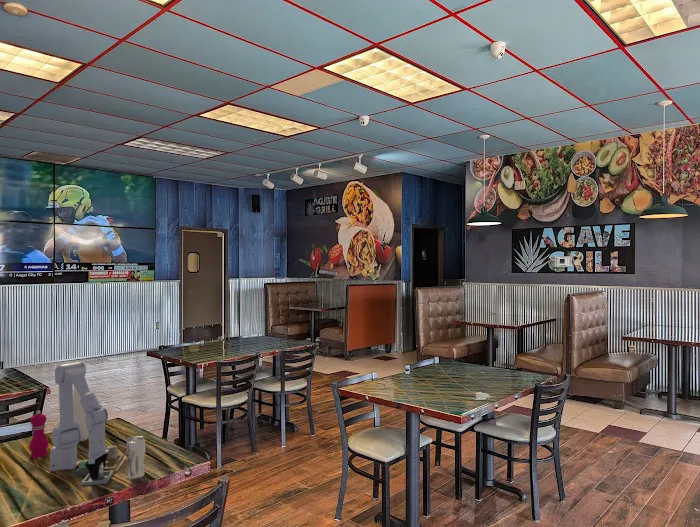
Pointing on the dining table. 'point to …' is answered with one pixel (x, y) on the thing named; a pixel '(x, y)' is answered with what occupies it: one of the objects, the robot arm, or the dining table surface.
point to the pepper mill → (38, 436)
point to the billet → (100, 473)
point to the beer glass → (135, 456)
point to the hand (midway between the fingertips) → (97, 475)
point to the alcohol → (80, 415)
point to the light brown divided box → (113, 459)
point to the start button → (83, 464)
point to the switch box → (81, 472)
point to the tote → (88, 480)
